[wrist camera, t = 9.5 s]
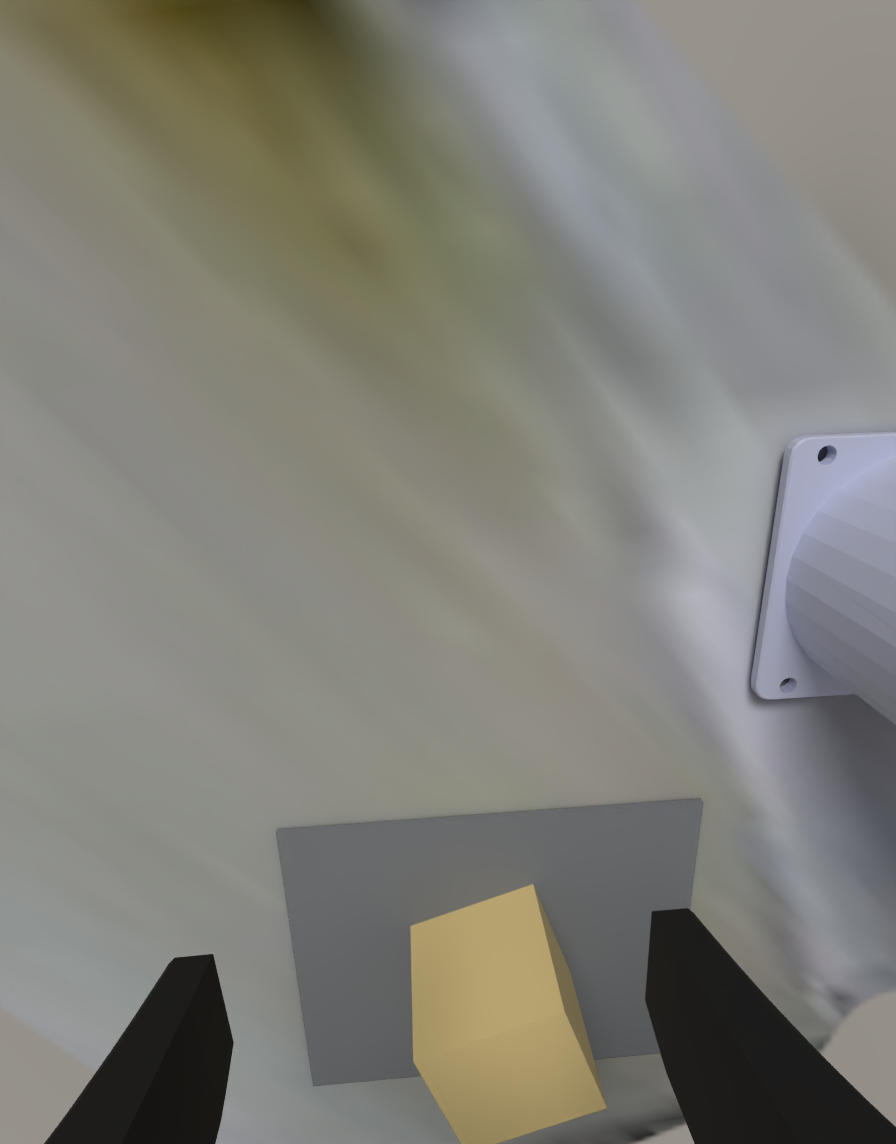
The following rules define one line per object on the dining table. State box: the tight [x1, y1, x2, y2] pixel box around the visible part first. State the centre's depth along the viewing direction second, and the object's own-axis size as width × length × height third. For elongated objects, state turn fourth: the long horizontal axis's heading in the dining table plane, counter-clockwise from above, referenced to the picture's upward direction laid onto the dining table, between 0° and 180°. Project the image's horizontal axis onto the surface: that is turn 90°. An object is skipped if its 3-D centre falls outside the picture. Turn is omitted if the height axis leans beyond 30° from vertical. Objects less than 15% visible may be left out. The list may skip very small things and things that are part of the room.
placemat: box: [276, 798, 703, 1086], centre depth 23 cm, size 14×12×1 cm
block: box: [410, 884, 607, 1144], centre depth 21 cm, size 4×4×4 cm
